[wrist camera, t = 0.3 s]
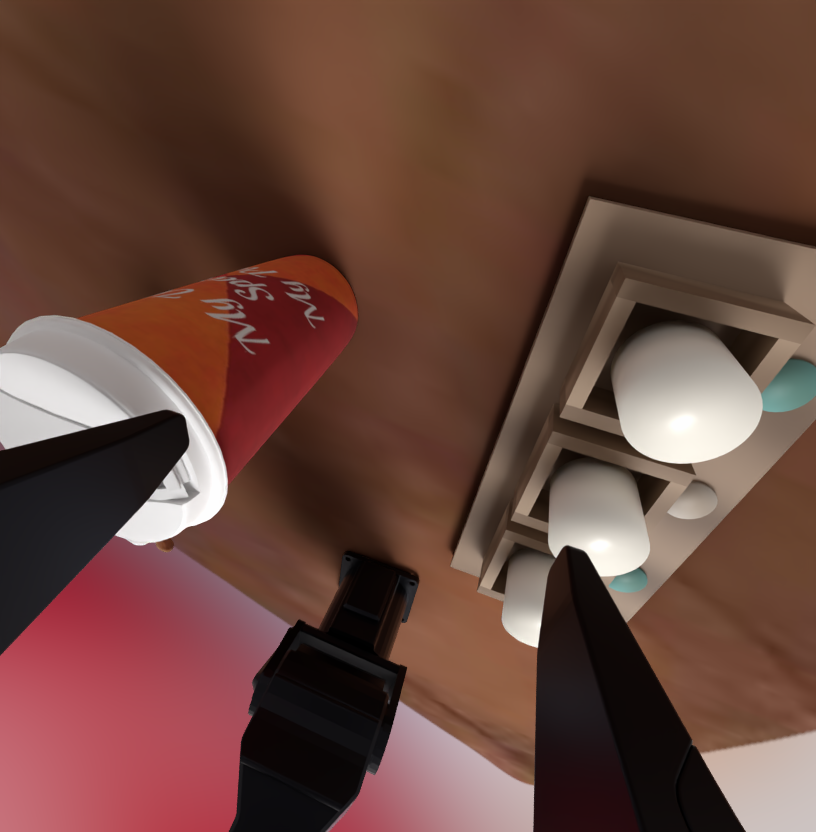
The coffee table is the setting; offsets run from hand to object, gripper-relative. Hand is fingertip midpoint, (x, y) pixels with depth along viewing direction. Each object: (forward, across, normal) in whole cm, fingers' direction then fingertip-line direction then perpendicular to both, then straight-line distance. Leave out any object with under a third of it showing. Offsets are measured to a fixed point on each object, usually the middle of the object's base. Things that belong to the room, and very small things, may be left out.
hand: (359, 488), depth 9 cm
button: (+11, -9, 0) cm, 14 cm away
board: (+14, -10, +6) cm, 18 cm away
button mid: (+11, -9, +7) cm, 16 cm away
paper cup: (+14, +8, +2) cm, 17 cm away
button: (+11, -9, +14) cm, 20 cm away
